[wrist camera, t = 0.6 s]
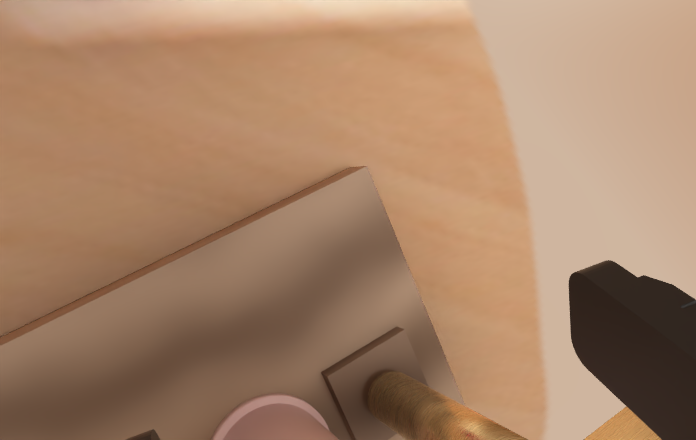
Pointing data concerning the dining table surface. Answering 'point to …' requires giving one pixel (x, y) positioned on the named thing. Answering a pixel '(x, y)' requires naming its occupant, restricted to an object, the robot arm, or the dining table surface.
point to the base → (233, 330)
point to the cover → (273, 420)
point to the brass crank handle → (464, 415)
